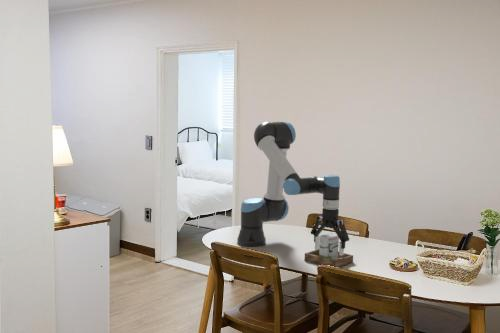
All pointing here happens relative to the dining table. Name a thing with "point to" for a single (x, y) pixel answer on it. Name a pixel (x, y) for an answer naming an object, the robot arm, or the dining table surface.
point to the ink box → (329, 246)
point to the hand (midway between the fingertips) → (328, 252)
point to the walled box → (340, 262)
